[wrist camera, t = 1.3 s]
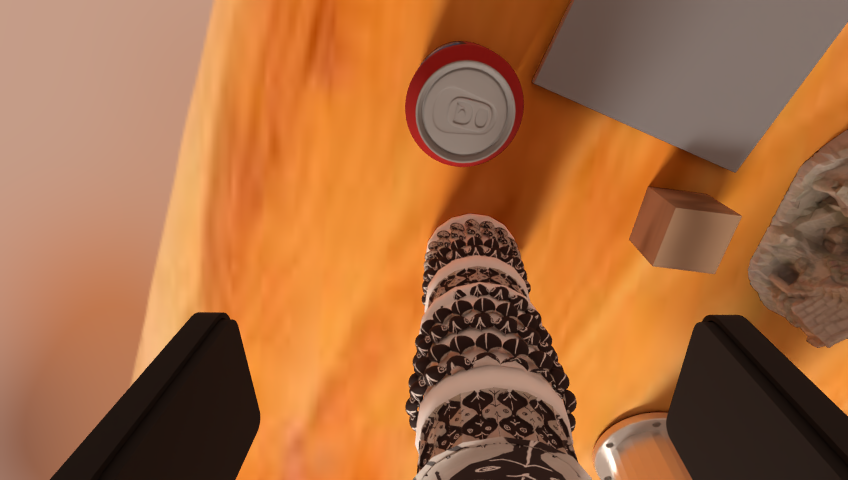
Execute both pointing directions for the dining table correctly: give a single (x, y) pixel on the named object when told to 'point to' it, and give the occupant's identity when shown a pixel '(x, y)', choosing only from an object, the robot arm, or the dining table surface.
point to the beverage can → (464, 104)
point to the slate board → (690, 65)
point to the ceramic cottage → (809, 249)
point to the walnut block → (683, 230)
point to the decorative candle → (486, 366)
